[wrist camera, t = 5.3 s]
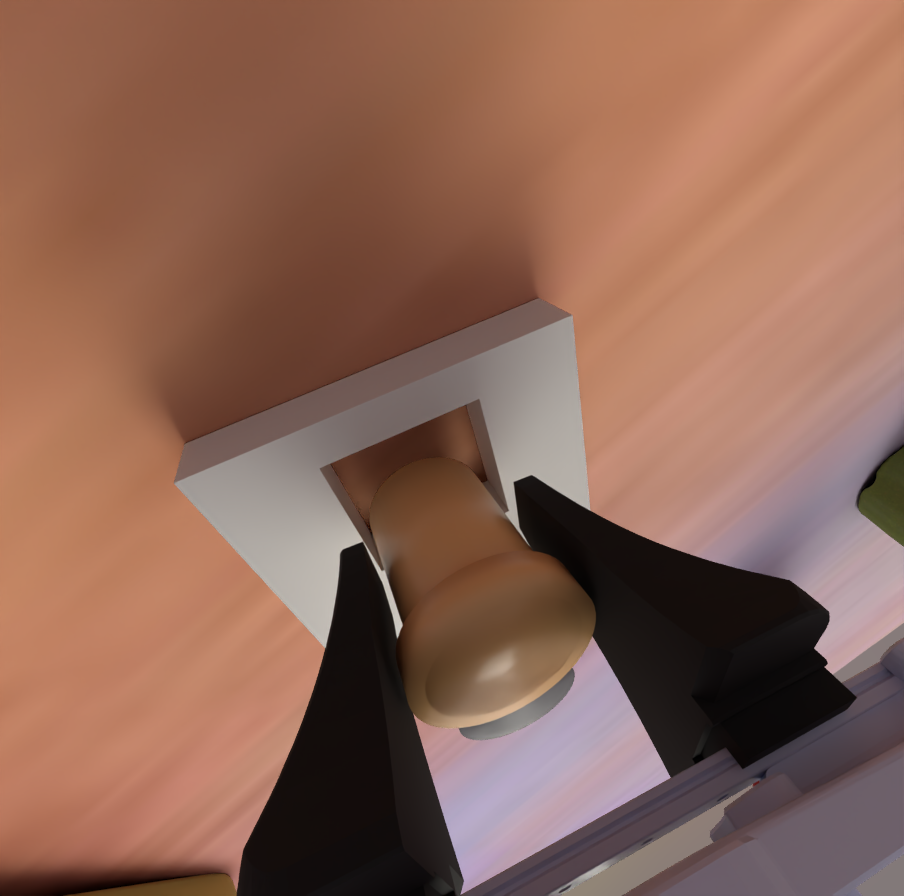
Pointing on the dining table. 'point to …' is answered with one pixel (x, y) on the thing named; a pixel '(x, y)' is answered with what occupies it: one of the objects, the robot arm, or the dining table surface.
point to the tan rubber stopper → (472, 598)
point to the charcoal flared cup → (522, 713)
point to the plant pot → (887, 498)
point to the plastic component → (175, 887)
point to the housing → (376, 419)
